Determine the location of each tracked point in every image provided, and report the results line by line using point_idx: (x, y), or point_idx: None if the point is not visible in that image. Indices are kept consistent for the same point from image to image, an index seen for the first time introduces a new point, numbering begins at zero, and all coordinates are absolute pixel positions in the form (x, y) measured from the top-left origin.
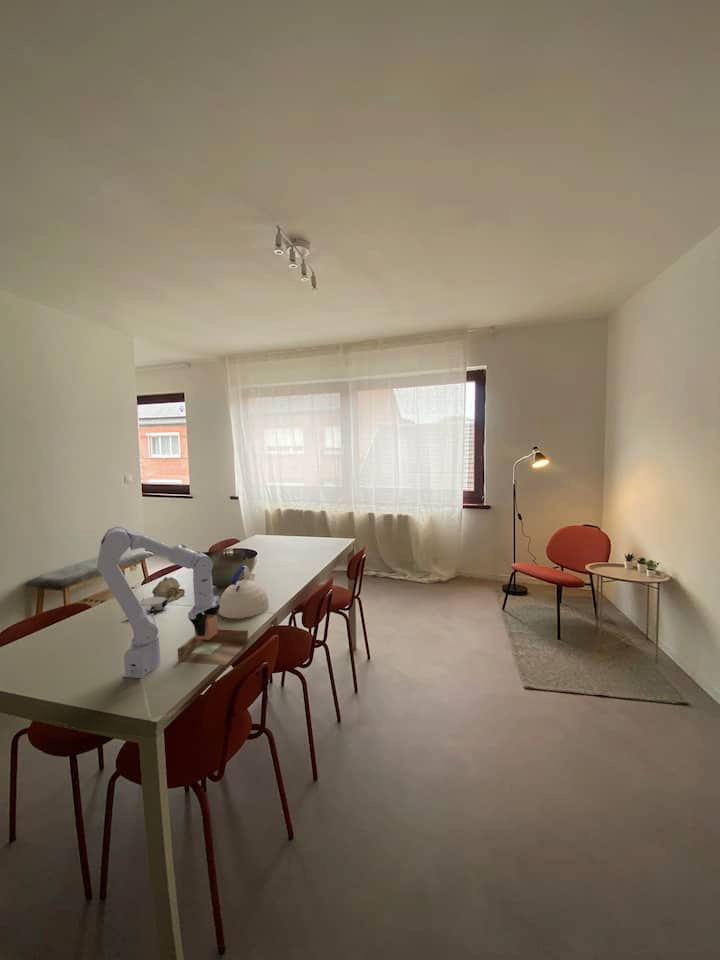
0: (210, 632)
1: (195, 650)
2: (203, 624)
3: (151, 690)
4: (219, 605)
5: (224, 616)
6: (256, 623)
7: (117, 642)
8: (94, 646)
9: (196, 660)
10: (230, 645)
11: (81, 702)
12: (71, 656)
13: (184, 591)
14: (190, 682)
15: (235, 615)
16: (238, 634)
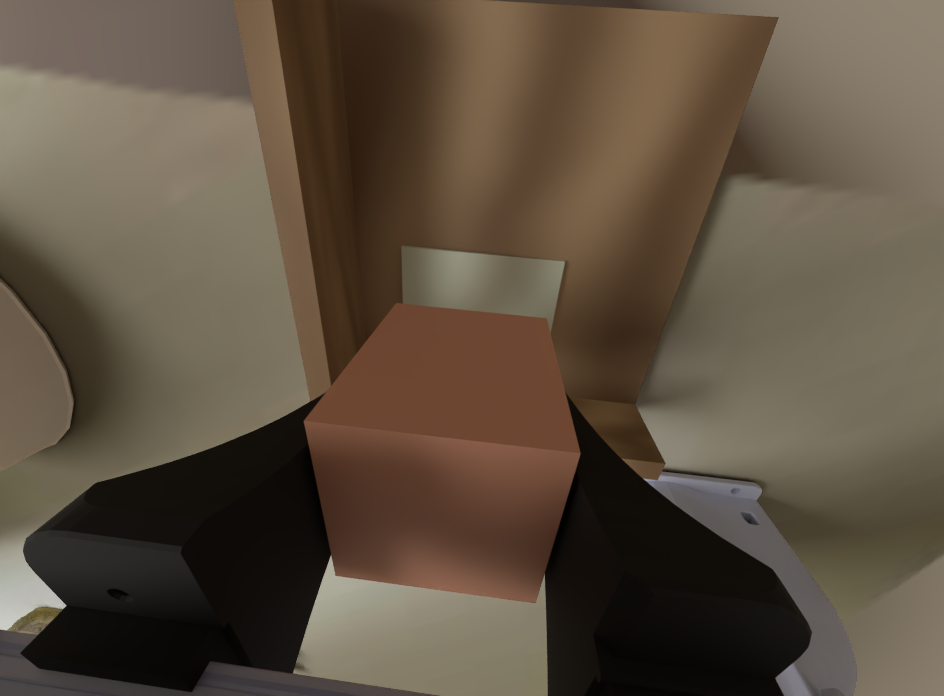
0: (521, 342)
1: None
2: (634, 476)
3: (896, 419)
4: (45, 533)
5: (69, 399)
6: None
7: (433, 643)
8: (465, 673)
9: (636, 324)
10: (412, 162)
11: (864, 594)
12: (527, 690)
13: (17, 623)
14: (907, 240)
15: (15, 335)
16: (309, 90)
